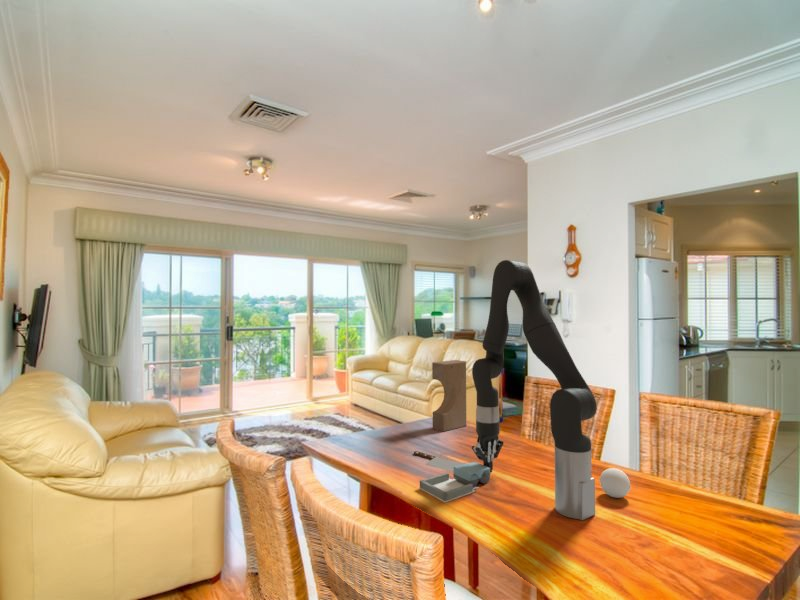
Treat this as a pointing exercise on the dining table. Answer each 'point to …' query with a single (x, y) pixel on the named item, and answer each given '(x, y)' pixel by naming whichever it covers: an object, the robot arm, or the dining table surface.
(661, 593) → the dining table surface
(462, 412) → the decorative block
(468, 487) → the dock
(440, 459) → the kitchen cleaver
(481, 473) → the pale blue lipped slab
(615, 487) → the ball
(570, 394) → the robot arm
